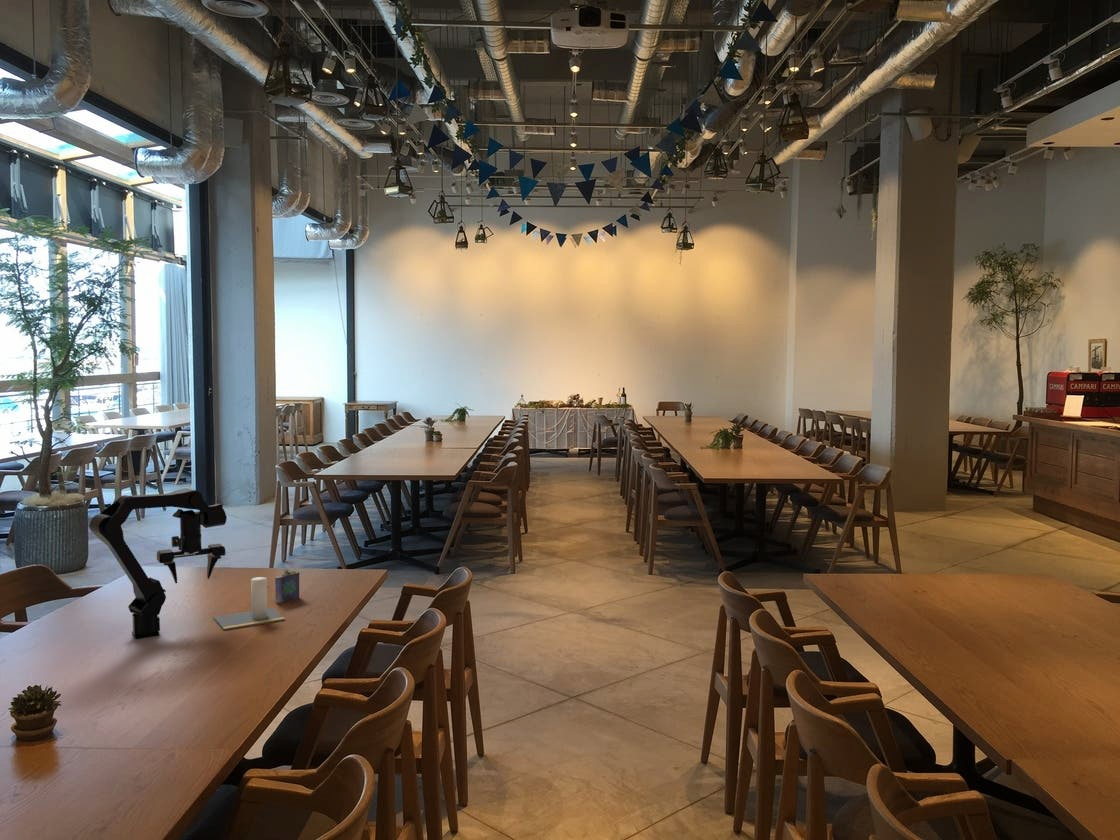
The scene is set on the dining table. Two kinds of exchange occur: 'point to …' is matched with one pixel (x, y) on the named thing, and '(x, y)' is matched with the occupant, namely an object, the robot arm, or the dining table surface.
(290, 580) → the flask
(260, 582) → the skittle
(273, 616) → the mat
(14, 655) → the dining table surface
